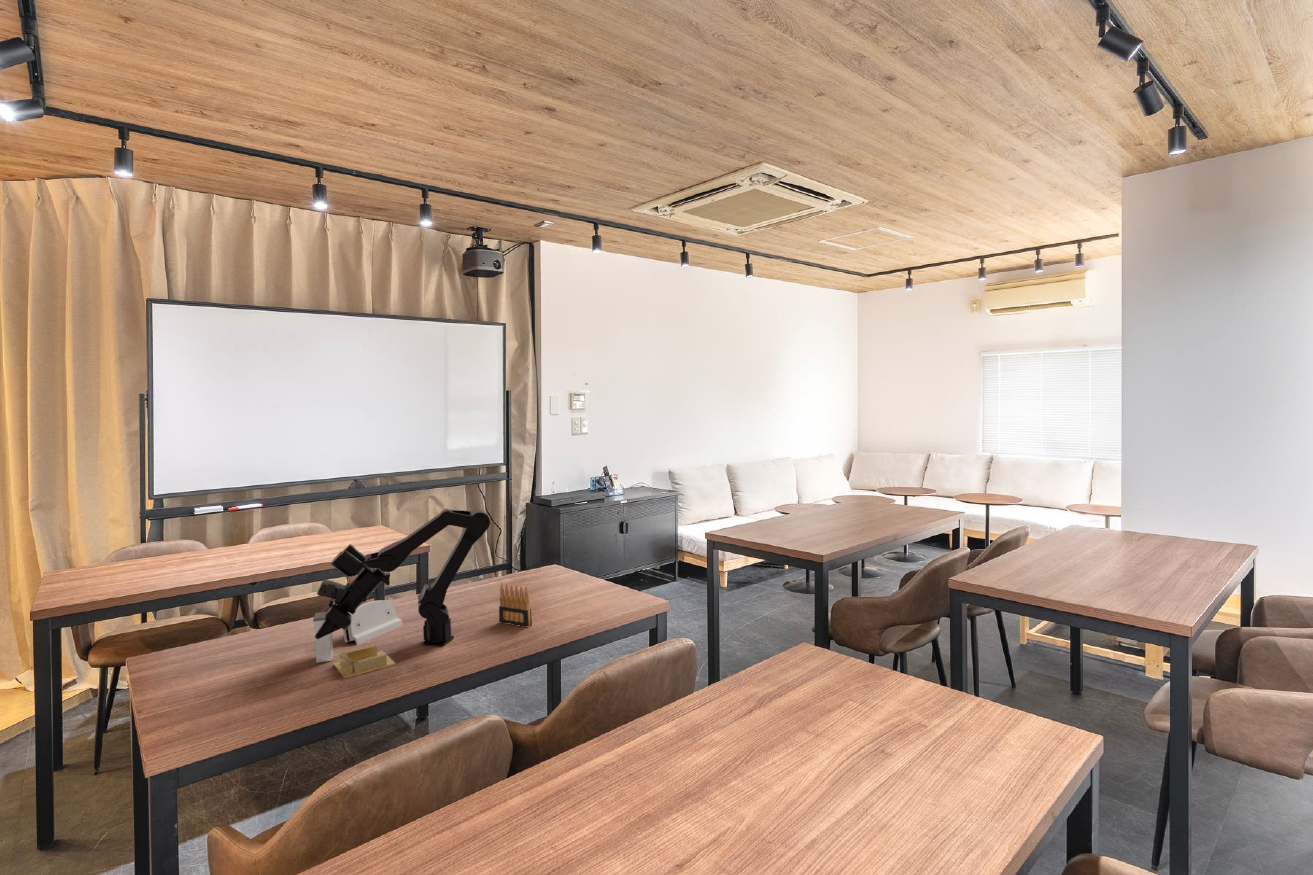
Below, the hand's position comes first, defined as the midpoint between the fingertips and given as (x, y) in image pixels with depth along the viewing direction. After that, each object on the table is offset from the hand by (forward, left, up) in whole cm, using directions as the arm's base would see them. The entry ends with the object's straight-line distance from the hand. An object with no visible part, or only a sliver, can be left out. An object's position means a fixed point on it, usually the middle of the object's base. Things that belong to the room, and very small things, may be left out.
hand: (317, 634), depth 168 cm
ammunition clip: (-41, -32, -7) cm, 52 cm away
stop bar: (-1, -1, -7) cm, 7 cm away
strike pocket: (-14, +1, -7) cm, 16 cm away
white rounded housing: (-2, -19, -7) cm, 21 cm away
